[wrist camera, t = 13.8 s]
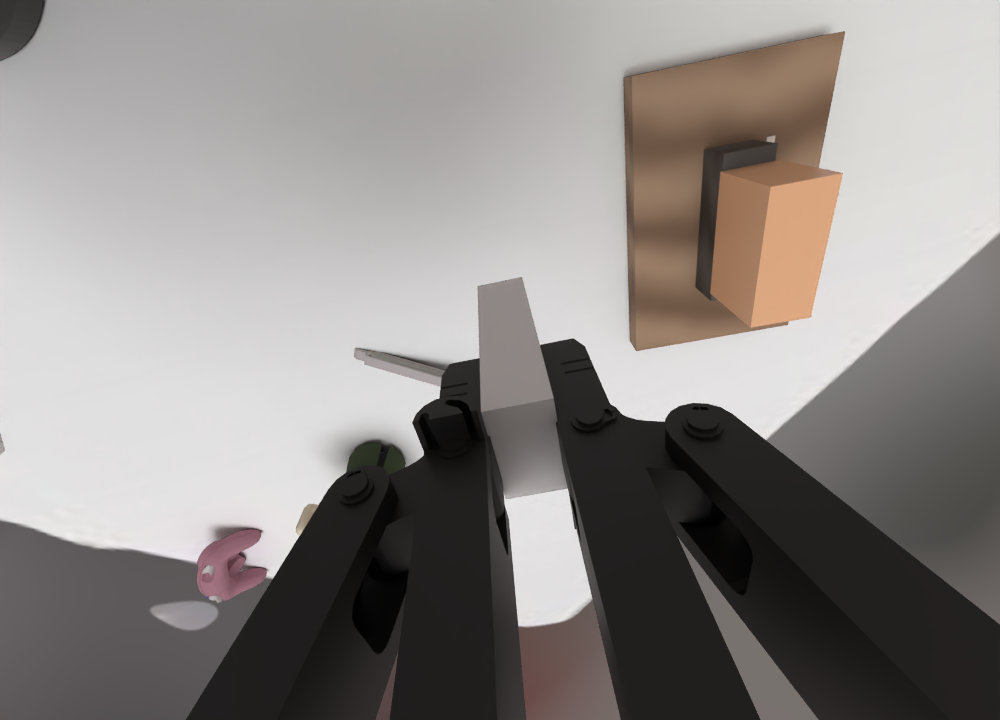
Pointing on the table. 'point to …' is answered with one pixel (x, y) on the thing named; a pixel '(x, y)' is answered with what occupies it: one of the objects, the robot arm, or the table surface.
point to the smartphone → (1, 446)
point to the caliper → (400, 366)
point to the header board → (678, 162)
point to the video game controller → (228, 567)
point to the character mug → (359, 457)
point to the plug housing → (772, 239)
